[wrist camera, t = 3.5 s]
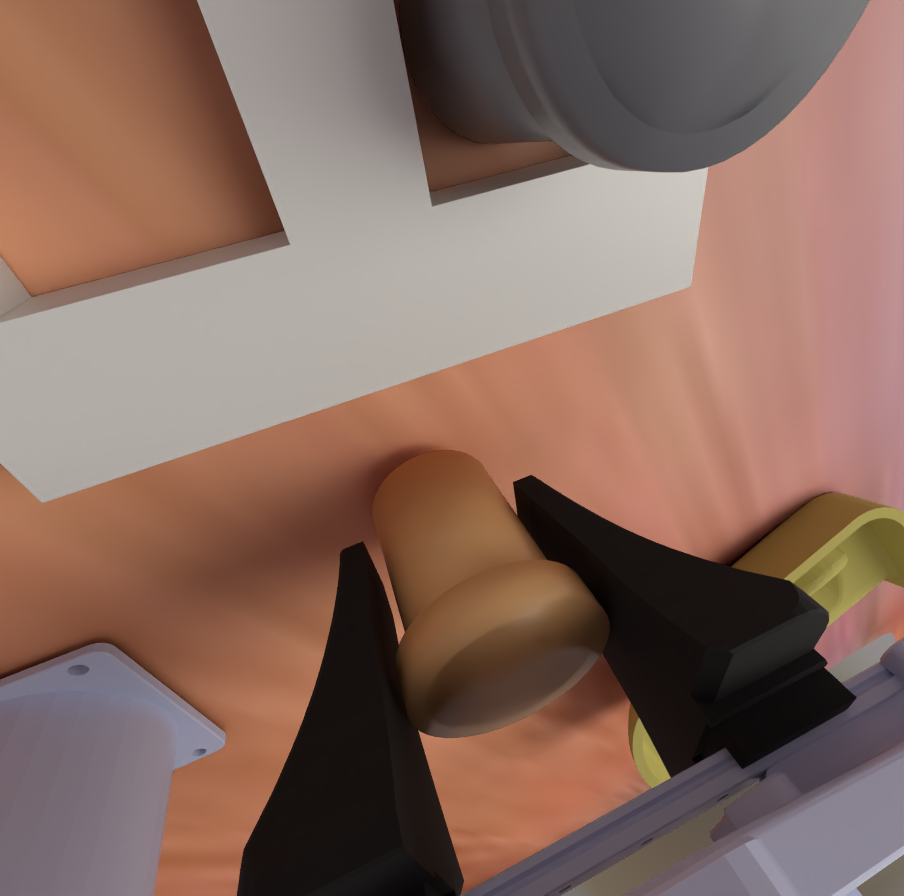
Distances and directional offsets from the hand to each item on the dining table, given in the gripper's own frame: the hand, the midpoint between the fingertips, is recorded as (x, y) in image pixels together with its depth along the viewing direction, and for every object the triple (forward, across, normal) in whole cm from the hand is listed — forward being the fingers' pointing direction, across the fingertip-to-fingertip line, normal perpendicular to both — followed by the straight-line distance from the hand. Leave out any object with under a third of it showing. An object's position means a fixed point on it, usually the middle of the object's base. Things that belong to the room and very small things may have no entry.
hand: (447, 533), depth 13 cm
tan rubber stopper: (+2, 0, 0) cm, 2 cm away
